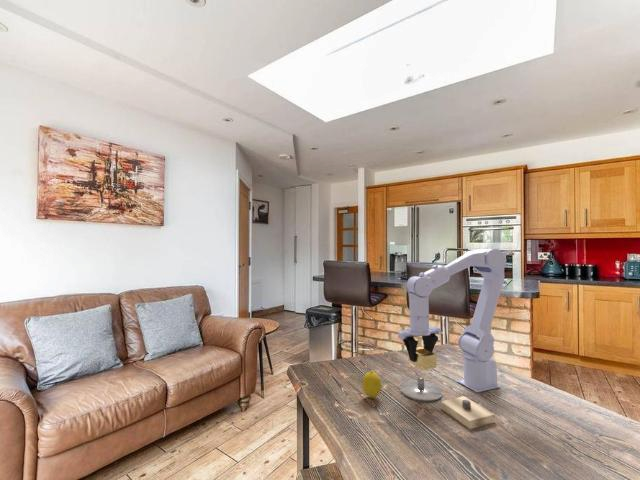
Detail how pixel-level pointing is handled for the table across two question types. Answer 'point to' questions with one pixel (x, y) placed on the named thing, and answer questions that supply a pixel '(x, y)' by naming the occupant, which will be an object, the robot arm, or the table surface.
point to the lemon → (371, 384)
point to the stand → (467, 412)
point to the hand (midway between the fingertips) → (420, 359)
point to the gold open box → (424, 359)
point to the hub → (421, 390)
